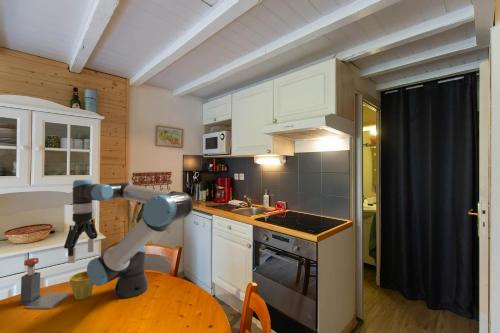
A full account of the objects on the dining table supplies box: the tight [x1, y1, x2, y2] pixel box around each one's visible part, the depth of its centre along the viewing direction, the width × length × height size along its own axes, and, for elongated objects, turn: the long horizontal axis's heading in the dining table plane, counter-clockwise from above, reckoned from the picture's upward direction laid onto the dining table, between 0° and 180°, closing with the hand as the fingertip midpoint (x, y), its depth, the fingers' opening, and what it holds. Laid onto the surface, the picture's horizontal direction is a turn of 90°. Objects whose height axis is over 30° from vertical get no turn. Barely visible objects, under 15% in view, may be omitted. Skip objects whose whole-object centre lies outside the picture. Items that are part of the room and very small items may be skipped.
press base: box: [18, 271, 71, 310], centre depth 108 cm, size 16×11×12 cm, turn 91°
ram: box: [23, 257, 40, 276], centre depth 108 cm, size 5×5×13 cm
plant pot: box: [69, 270, 94, 300], centre depth 113 cm, size 10×10×10 cm
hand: (82, 257), depth 112 cm, fingers open, 13 cm apart
